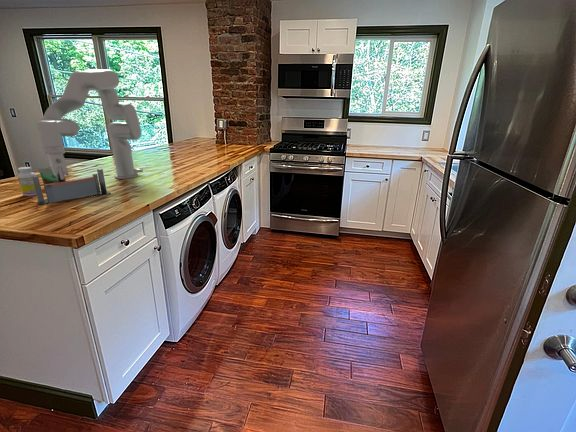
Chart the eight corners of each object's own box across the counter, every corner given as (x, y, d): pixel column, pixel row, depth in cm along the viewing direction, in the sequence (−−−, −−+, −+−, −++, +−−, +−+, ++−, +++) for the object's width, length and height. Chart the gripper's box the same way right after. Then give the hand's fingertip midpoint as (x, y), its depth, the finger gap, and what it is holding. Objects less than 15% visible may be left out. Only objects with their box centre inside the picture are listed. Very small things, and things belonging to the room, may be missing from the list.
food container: (52, 188, 155) (47, 169, 151) (42, 187, 156) (37, 168, 153) (72, 183, 166) (68, 164, 163) (63, 182, 167) (59, 164, 164)
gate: (99, 191, 150) (95, 173, 147) (101, 192, 149) (97, 174, 146) (48, 202, 132) (43, 182, 129) (50, 203, 131) (45, 183, 128)
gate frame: (107, 191, 154) (102, 167, 150) (110, 194, 150) (106, 170, 146) (37, 201, 136) (30, 175, 131) (39, 205, 132) (32, 178, 127)
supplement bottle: (29, 192, 148) (22, 166, 144) (44, 192, 149) (37, 166, 144) (19, 196, 142) (11, 169, 137) (34, 196, 142) (27, 169, 138)
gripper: (67, 151, 130) (76, 192, 136) (61, 147, 140) (70, 185, 146) (45, 153, 125) (56, 195, 131) (41, 148, 135) (51, 188, 142)
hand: (63, 190), depth 139 cm, fingers closed
